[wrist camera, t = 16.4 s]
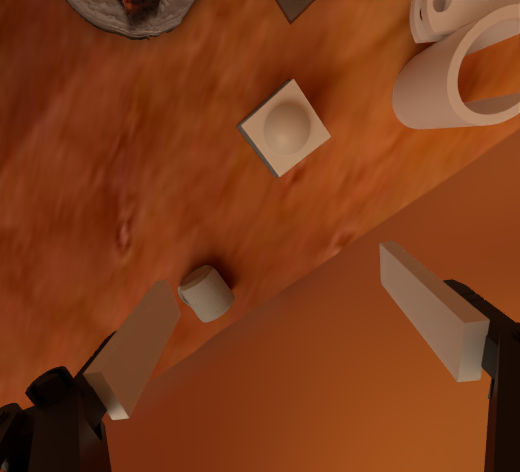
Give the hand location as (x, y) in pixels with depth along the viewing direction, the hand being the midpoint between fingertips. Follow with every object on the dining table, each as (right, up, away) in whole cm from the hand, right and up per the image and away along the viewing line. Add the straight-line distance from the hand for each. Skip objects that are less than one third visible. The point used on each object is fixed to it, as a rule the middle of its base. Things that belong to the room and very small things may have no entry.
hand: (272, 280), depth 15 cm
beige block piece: (+3, +19, +23) cm, 30 cm away
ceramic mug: (-12, -7, +34) cm, 37 cm away
